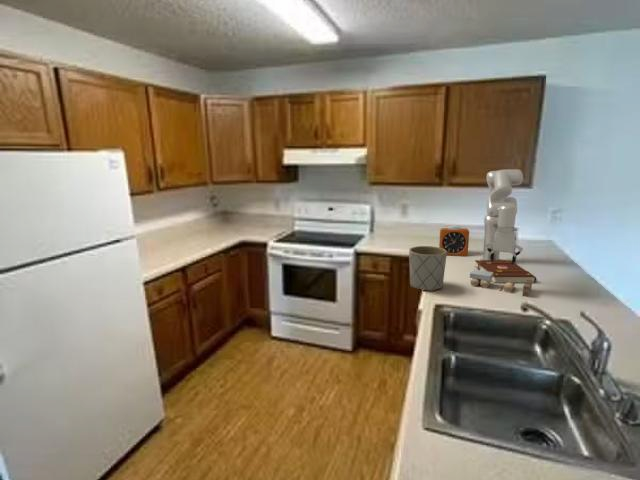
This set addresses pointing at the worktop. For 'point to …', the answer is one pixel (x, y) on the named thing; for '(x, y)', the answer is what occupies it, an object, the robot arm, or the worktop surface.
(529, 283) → the stop block
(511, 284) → the roller
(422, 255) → the planter
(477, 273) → the slab
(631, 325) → the worktop surface
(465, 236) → the alarm clock
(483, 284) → the bed rollers
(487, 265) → the book
